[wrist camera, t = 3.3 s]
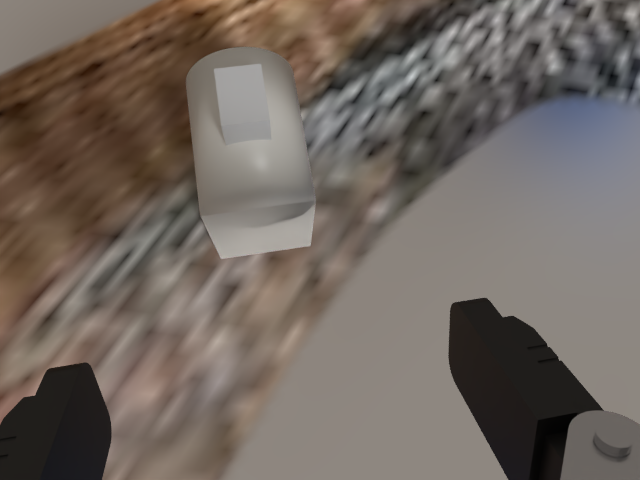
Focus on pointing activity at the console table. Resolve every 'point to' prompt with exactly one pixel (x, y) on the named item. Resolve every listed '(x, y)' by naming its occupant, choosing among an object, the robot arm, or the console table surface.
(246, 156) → the cylinder
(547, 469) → the robot arm
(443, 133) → the console table surface
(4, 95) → the console table surface
